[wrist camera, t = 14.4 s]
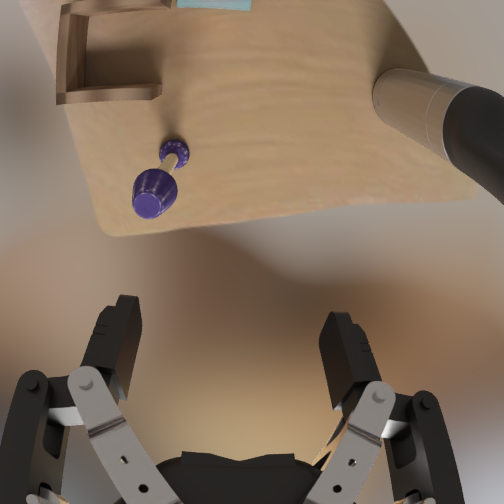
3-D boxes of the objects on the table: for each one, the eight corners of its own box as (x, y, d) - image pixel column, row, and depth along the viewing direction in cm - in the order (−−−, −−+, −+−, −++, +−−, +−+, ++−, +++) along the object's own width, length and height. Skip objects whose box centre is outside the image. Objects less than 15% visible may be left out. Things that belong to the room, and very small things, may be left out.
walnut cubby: (171, -1, 28) (161, -9, 24) (161, 94, 36) (150, 100, 31) (80, 8, 27) (61, 5, 22) (75, 97, 34) (56, 104, 30)
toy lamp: (165, 132, 39) (127, 177, 25) (197, 141, 40) (176, 192, 27) (156, 163, 41) (118, 222, 28) (187, 172, 43) (164, 236, 29)
